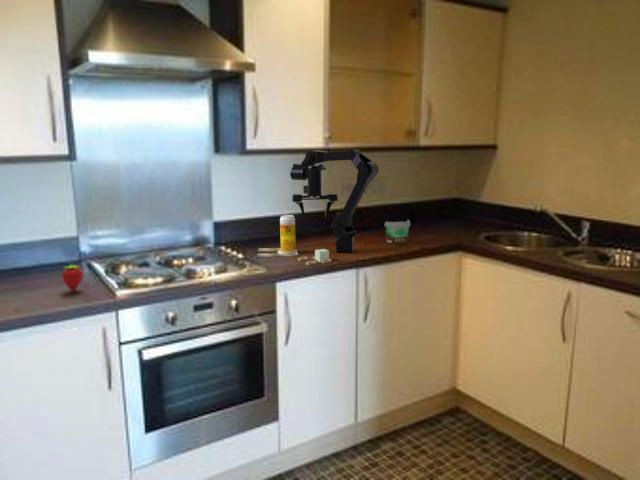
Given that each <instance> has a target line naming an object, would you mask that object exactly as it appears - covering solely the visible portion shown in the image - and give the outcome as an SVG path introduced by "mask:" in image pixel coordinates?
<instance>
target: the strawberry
mask: <svg viewBox="0 0 640 480" xmlns="http://www.w3.org/2000/svg"><path fill="white" fill-rule="evenodd" d="M82 266H83V265H76V264H73V262H71V263H70V264H69V265H68V266H64V267H62V268H63V269H64V270H63V271H62V273H61V274H62V275H61V277H62V280H63V282H64V283H65V285H66V286H67V287H68V288H69V290H70V291H71V292H72V293H74V292H75V291H77V289H78V287H79V285H80V284H81V282H82V280H83V275H84V274H83V270H82V269H81V267H82Z"/></svg>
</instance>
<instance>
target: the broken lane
mask: <svg viewBox="0 0 640 480" xmlns="http://www.w3.org/2000/svg"><path fill="white" fill-rule="evenodd" d="M312 259H314V260H310V261H309V260H308V257H307V256H302V257H301V256H300V257H298V258H297V261H299V262H301V261H306V262H305V263H306V264H305V265H307V266H310V265H316V264H317V261H316V260H315V255H313V256H312ZM321 263H322V264H326V263H332V258H329V259H325V260H322V262H321Z"/></svg>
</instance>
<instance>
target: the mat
mask: <svg viewBox="0 0 640 480" xmlns="http://www.w3.org/2000/svg"><path fill="white" fill-rule="evenodd" d="M277 253H282V251H277ZM294 253H295V256H298V255H299V253H298V250H297V249H296V251H295V252H294Z"/></svg>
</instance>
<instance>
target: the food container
mask: <svg viewBox="0 0 640 480" xmlns="http://www.w3.org/2000/svg"><path fill="white" fill-rule="evenodd" d="M384 227H385V232H386V233H385V234H386V235H385V236H386V244H387V243H388V245H392V244H403V245H406V243H407V244H408V237H409V230H410V227H411V221H410V220H409V219H407V220H406V221H385V223H384Z"/></svg>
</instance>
